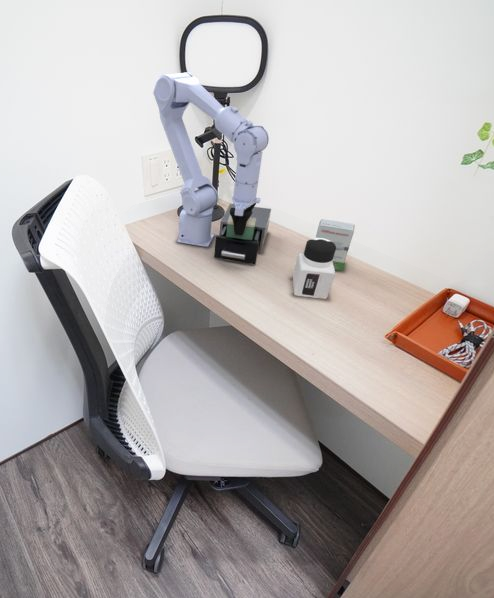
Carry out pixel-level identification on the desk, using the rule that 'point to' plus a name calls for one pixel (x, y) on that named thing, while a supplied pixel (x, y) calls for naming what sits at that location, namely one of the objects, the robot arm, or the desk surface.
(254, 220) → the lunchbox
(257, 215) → the small drawer cabinet
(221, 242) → the drawer
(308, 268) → the container
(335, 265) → the ink box
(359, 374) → the desk surface
